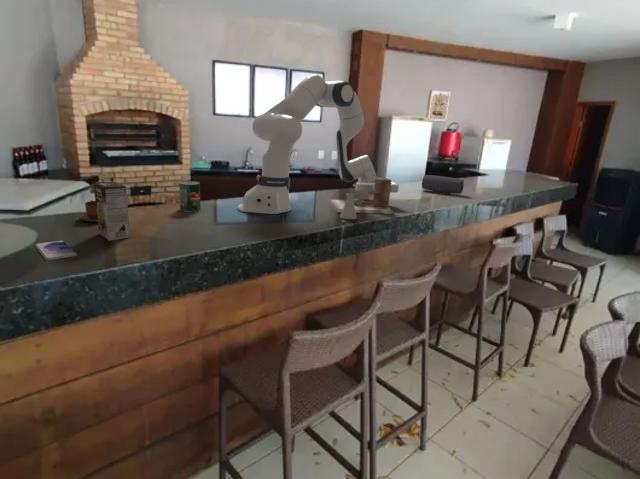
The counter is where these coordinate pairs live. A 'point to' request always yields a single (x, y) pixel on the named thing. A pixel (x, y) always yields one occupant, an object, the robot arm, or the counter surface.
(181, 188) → the canned tomato
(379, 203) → the dial fin
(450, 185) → the bluetooth speaker
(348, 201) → the flask
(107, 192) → the coffee box
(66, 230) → the counter surface
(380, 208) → the dial board
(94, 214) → the cup and saucer
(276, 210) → the robot arm
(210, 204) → the counter surface
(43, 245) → the smartphone
